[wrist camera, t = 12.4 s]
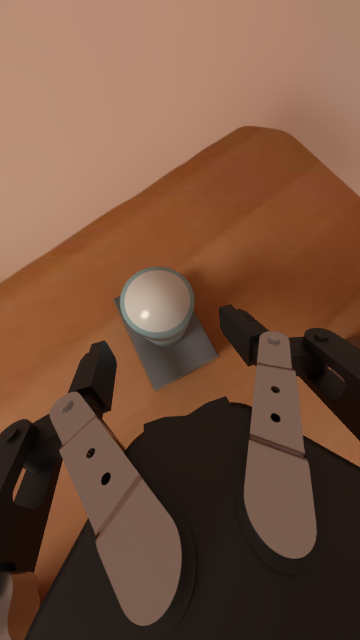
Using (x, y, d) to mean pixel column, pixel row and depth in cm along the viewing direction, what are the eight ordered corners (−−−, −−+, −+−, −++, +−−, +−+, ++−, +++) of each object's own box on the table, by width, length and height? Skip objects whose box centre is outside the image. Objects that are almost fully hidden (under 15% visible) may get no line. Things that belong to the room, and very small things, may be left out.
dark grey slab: (173, 282, 27) (173, 270, 23) (213, 357, 24) (221, 356, 20) (120, 307, 26) (110, 297, 22) (157, 387, 23) (153, 393, 19)
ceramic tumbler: (174, 301, 22) (174, 255, 12) (192, 335, 21) (208, 315, 11) (139, 318, 21) (108, 284, 11) (156, 354, 20) (138, 350, 10)
